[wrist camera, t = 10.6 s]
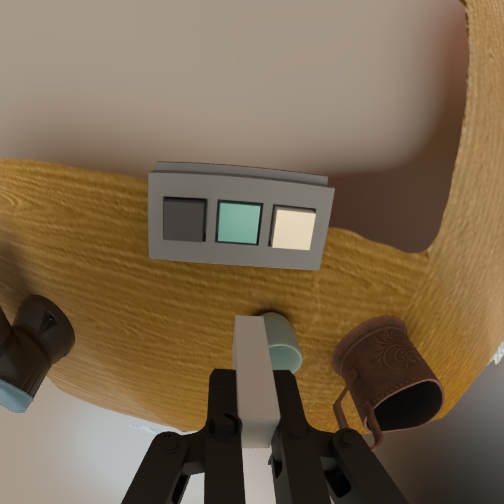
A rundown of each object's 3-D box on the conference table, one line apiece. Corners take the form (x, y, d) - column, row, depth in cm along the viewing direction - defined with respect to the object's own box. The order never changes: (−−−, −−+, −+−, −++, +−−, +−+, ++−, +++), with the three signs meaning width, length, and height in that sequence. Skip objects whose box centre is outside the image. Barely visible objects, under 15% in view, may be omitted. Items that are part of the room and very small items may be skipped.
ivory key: (269, 239, 38) (272, 247, 35) (273, 204, 36) (277, 209, 33) (303, 242, 39) (309, 250, 36) (309, 208, 37) (315, 213, 34)
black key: (168, 232, 37) (163, 239, 34) (169, 196, 35) (163, 201, 32) (204, 234, 37) (201, 242, 34) (206, 198, 35) (203, 203, 32)
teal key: (218, 233, 38) (217, 240, 35) (221, 198, 36) (220, 203, 34) (254, 236, 39) (256, 243, 36) (258, 201, 37) (260, 206, 34)
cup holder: (380, 379, 57) (419, 457, 34) (294, 374, 53) (320, 479, 30) (420, 320, 51) (481, 397, 28) (332, 304, 47) (392, 417, 24)
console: (157, 253, 41) (149, 265, 37) (158, 161, 35) (148, 164, 31) (309, 263, 43) (317, 276, 39) (325, 176, 38) (336, 180, 34)
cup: (237, 324, 47) (239, 364, 37) (271, 297, 45) (280, 335, 36) (267, 346, 49) (273, 386, 40) (299, 322, 47) (312, 361, 38)
